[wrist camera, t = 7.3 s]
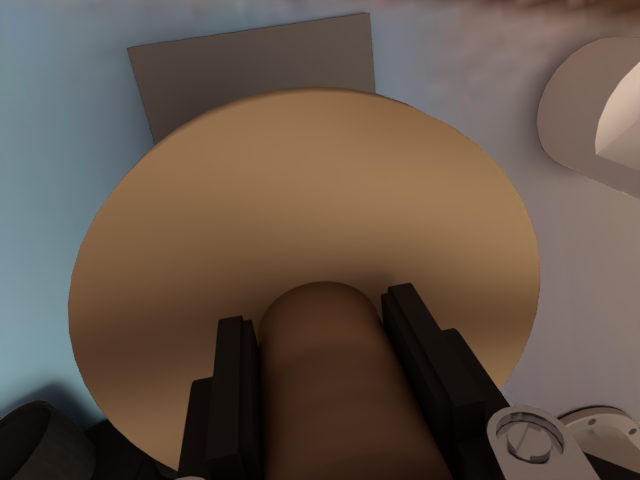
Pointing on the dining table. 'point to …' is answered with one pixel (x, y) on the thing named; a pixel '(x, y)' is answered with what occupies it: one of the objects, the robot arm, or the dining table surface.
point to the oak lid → (301, 275)
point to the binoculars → (70, 449)
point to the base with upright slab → (596, 113)
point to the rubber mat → (249, 66)
